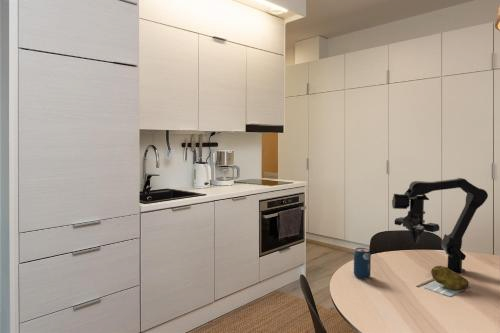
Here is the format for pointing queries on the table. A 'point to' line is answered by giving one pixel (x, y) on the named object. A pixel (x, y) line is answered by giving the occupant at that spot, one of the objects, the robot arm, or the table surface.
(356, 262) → the soda can
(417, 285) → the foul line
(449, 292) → the mat
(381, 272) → the table surface
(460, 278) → the potato
